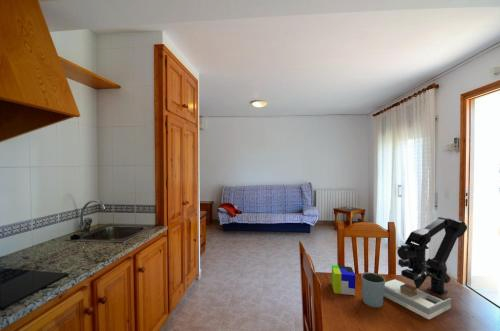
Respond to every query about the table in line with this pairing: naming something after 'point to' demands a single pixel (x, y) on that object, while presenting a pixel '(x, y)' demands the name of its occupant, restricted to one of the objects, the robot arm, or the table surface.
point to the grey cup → (373, 289)
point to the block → (408, 290)
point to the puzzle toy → (343, 280)
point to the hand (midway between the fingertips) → (417, 288)
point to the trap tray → (416, 300)
